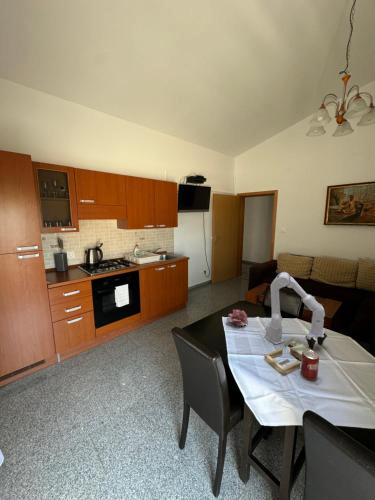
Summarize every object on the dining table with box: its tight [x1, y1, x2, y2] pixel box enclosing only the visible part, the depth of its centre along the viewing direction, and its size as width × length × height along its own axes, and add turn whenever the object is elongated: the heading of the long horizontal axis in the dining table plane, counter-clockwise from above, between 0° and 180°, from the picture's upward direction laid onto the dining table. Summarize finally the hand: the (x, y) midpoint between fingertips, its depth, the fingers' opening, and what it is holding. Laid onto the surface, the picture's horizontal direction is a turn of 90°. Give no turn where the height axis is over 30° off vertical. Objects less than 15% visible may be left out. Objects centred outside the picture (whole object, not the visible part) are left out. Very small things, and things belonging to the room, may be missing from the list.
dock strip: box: [277, 359, 291, 366], centre depth 115 cm, size 2×9×1 cm, turn 114°
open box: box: [289, 343, 314, 361], centre depth 120 cm, size 7×9×4 cm
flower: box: [226, 309, 249, 328], centre depth 155 cm, size 15×15×10 cm
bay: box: [263, 348, 302, 376], centre depth 114 cm, size 13×12×3 cm
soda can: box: [300, 349, 320, 381], centre depth 105 cm, size 7×7×12 cm
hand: (315, 346), depth 125 cm, fingers open, 7 cm apart
